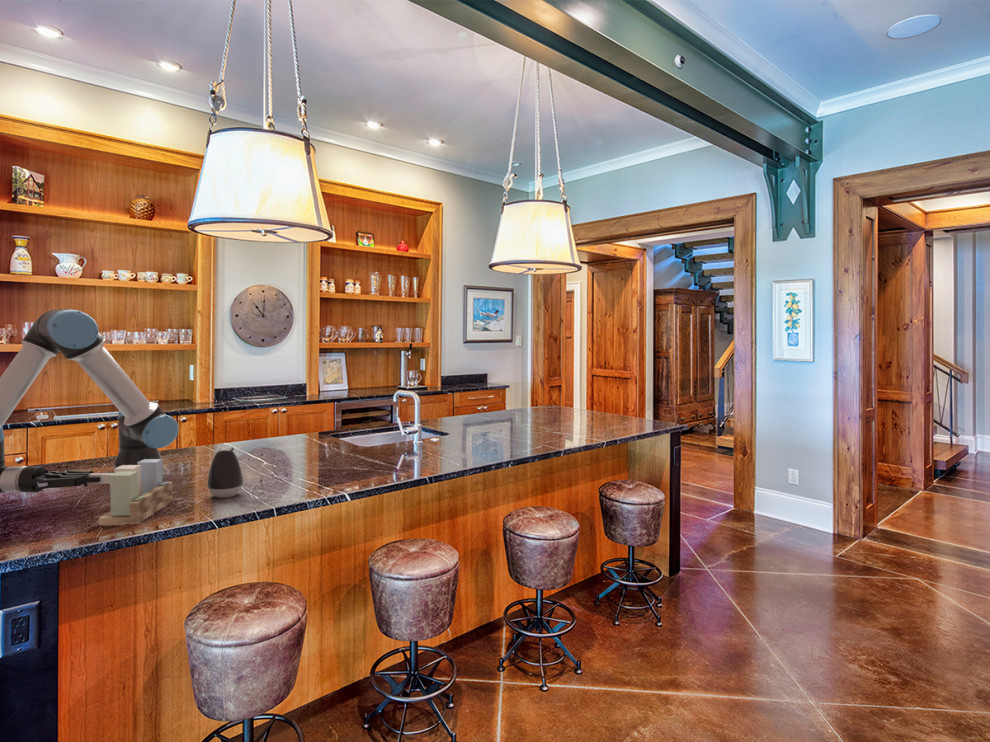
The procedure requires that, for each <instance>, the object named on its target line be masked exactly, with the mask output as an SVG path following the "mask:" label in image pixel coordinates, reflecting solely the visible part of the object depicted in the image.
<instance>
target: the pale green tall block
mask: <svg viewBox="0 0 990 742" xmlns="http://www.w3.org/2000/svg"><path fill="white" fill-rule="evenodd" d="M113 473H114V472H113ZM109 497H110V511H111V516H121V515H130V505H129V503H131V502H132V501H134V499H136V498H138V471H130V472H116V473H114V474H112V475H110V484H109Z"/></svg>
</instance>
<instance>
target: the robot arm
mask: <svg viewBox="0 0 990 742" xmlns="http://www.w3.org/2000/svg"><path fill="white" fill-rule="evenodd" d="M104 343H105V338H104V337H103V335H102V334H101V333H100V332H99V326H98V324H97V322H96V320H95V319H94V318H93V317H92V316H90V315H89V314H87V313H86V312H83V311H81V310H78V309H72V308H71V309H70V308H68V309H67V308H65V309H51V310H48V311H46V312H43V313H42V314H41V315H39V316H38V317H37V318H36V320H35V321H34V322H33V324H32V326H31V327H30V329H29V330H28V331H27V333H26V334H25V336H24V337H23V339H22V340H21V344H22V347H21V348H20V349H19V351H18V353H17V354H16V355H15V356H14V358H13V359H12V361H11V362H9V365H8V366H7V368H6V369H5V371H4V372H3V373H2V375H1V376H0V494H3V493H4V494H6V493H7V494H8V493H9V494H10V493H13V495H17V494H19V493H25V494H27V493H40V492H42V491H43V490H46V489H55V488H56V489H57V488H70V487H73V488H75V487H81V486H82V485H83V488H87V487H88V486H89V484H90V485H92V484H93V485H97V484H98V485H99V484H100V485H101V484H102V485H103V484H104V485H105V484H109V485H110V475H112V474H114V472H109V473H108V472H103V473H101V472H100V473H98V472H94V470H93V469H92V470H75V469H73V470H72V469H68V468H65V469H64V471H59V470H51V471H48V470H47V468H45V467H44V466H41V465H29V466H27V465H21V466H19V465H18V466H17V465H16V466H15V465H12V466H9V465H8V466H7V465H6V459H5V433H4V428H3V426H4V425H5V423H6V422H7V420H8V419H9V417H10V416H11V415H12V413H13V412H14V410H15V409H16V407H17V406H18V404H19V403H20V402H21V400H22V399H23V397H24V396H25V395H26V393H27V392H28V390H29V389H30V387H32V384H33V383H34V381H35V380H36V379H37V378H38V376H39V375H40V373H41V372H42V371H43V369H44V367H45V366H46V365H47V363H48V361H50V359H51V358H54V357H55V358H56V357H57V356H58V354H59V352H60V353H61V354H62V355H63V357H64V358H65V359H66V360H68V361H75V362H76V363H77V364H78V365H79V366H80V367H81V368H82V369H83V371H84V372H85V373H86V374H87V376H89V378H90V379H91V380H92V381H93V382H94V383H95V384H96V386H97V387H98V388H99V389H100V390H101V391H102V393H104V395H105V396H106V397H107V398H108V400H110V401H111V402H112V404H113V405H114V406H115V407H116V409H117V410H118V414H117V424H118V425H117V426H118V430H117V431H118V453H117V456H116V459H115V462H114V464H113V470H114V469H115V468H117V467H119V466H122V465H137V462H140V461H142V460H144V459H162V468H163V467H164V461H163V457H162V455H161V453H160V451H159V449H162V448H165V447H169V446H170V445H171V444H172V443H173V442H174V441H175V440H176V439H177V437H178V436H179V435H178V434H179V430H180V427H179V424H178V422H177V420H176V419H175V418H174V417H172V416H171V415H167V413H166V412H165V411H164V410H163V409H162V408H161V406H160V405H159V404H158V402H153V401H152V402H151V401H149V400H148V398H147V397H146V396H145V394H144V393H143V392H142V391H141V390H140V388H139V387H138V386H137V385H136V384H135V382H134V381H133V380H132V379H131V377H129V376H128V374H127V373H126V372H125V370H124V369H123V368H122V366H120V364H119V363H118V362H117V361H116V360H115V358H114V357H113V356H112V354H110V352H109V351H108V350H107V349H106V348H105V346H104V345H105V344H104Z"/></svg>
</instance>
